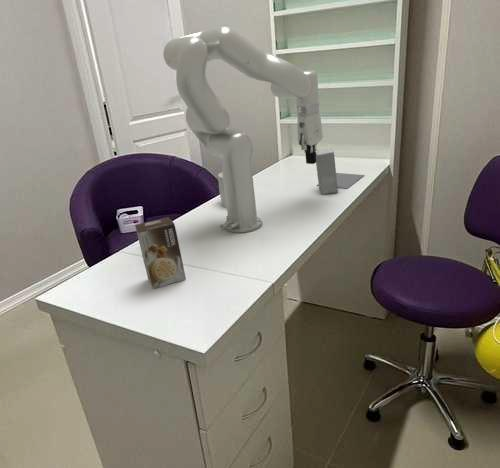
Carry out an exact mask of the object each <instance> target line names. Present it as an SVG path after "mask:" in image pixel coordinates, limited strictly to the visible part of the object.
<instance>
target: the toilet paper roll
mask: <svg viewBox="0 0 500 468" xmlns="http://www.w3.org/2000/svg"><path fill="white" fill-rule="evenodd" d="M217 179H218V190H219V196H220V202H221V205H222V207H224V208H227V207H226V199H225V192H224V184H223V177H222V171H221V172H219V173H218V174H217Z"/></svg>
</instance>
